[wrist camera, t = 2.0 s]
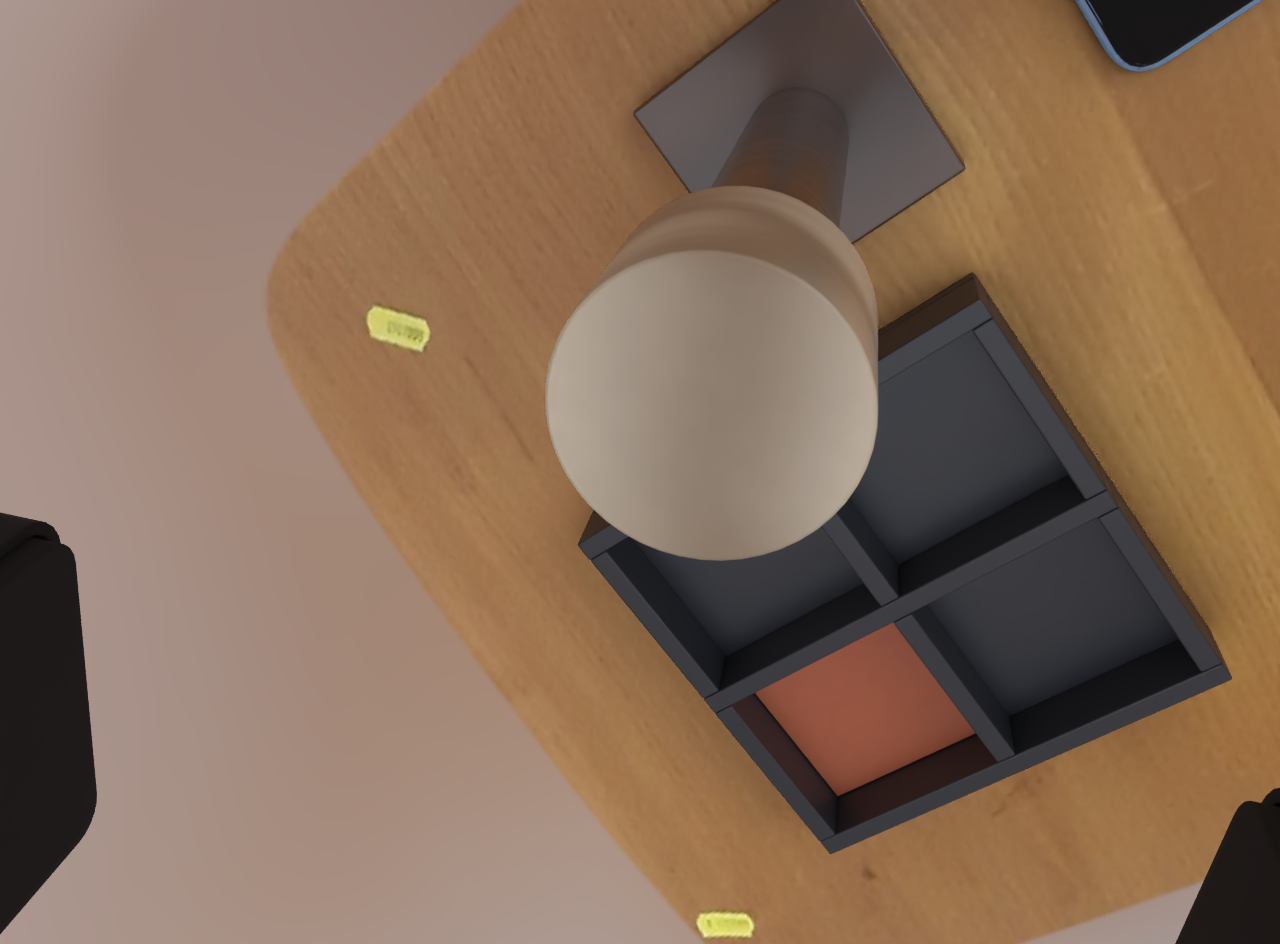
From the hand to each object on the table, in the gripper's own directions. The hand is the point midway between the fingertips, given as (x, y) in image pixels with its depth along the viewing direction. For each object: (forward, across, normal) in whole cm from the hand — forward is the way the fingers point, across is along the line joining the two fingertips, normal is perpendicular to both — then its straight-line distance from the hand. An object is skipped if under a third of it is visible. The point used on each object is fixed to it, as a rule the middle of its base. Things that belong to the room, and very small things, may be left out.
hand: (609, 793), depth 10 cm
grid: (+30, -6, +14) cm, 33 cm away
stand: (+30, 0, 0) cm, 30 cm away
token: (+12, 0, 0) cm, 12 cm away
